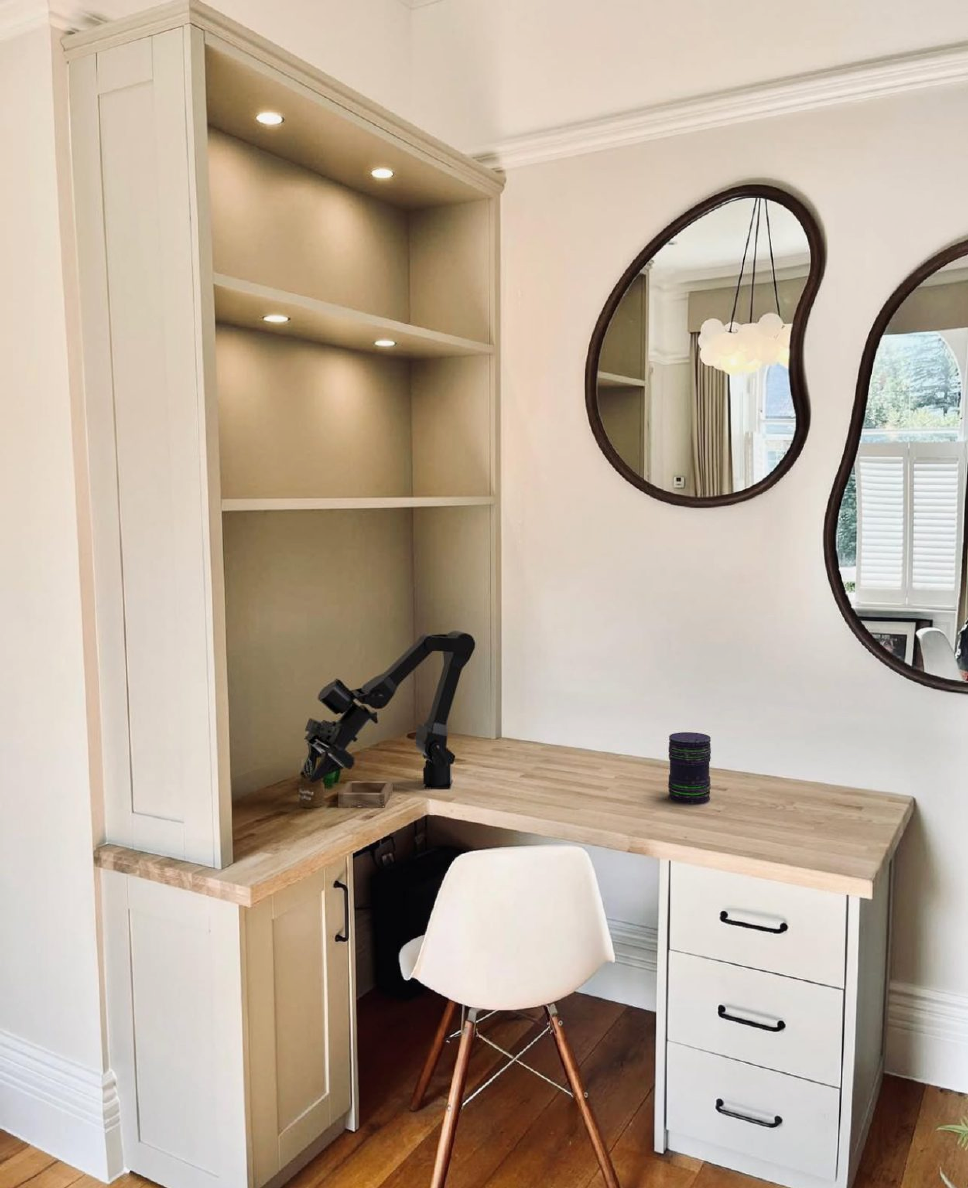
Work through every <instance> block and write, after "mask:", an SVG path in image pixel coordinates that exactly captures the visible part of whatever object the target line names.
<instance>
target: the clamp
mask: <svg viewBox="0 0 968 1188" xmlns="http://www.w3.org/2000/svg"><path fill="white" fill-rule="evenodd" d="M342 767H343V768H345V766H344V764H343V765H342ZM342 770H343V769H340V770H338V771H335V772H333V773H331V774H329V775H327V776H325V777H323V780H322V782H323V783H324V788H328V787H330V788H329V789H332V788H333V785H334V783H339V782H340V778H341V773H342ZM314 771H315V770H313V771H312V773H313V772H314ZM310 773H311V772H310Z"/></svg>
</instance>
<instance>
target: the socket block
mask: <svg viewBox="0 0 968 1188" xmlns="http://www.w3.org/2000/svg"><path fill="white" fill-rule="evenodd" d="M337 794H338V795H337V802H338V805H337V806H338V808H352V807H358V806H361V807H383V806H384V807H385V806H386V807H387V805H388V803H389V801H390V800H391V798H390V796H391V795H392V796H393V781H389V780H387V781H381V780H380V781H379V780H378V781H376V780H374V781H373V780H372V781H371V780H370V781H369V780H367V781H365V780H356V781H355V780H348V781H346V783H345V784H344V786H343V787H342V788H341V790H340V791H339V792H338V793H337ZM392 796H391V797H392ZM388 800H389V801H388ZM386 804H387V805H386ZM349 806H350V807H349ZM386 807H385V808H386Z"/></svg>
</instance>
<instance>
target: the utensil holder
mask: <svg viewBox="0 0 968 1188" xmlns="http://www.w3.org/2000/svg"><path fill="white" fill-rule="evenodd" d="M306 759H309V758H307V757H304V758H303V759H302V761H304V760H305V762H306V761H307V760H306ZM318 759H319V762H318ZM321 760H322V757H321ZM305 762H302V766H304V764H305ZM309 763H310V762H309ZM319 763H320V758H317V763H316V768H317V766H318V765H319ZM311 764H312V763H311ZM311 764H310V765H311ZM306 767H308V766H306ZM304 770H305V769H304ZM310 771H311V769H310ZM305 773H306V772H305ZM307 773H308V772H307ZM312 774H313V773H312V772H311V773H308V774H304V775H302V776H301V775H300V780H299V781H300V783H299V788H298V793H299V796H298V799H299V805H300V807H302V808H304V807H305V809H315V808H320V807H322V806H323V805H325V801H326V800H325V798H326V797H325V793H326V792H325V786H324V783H323V782H322V780H323V778H321V779H319V780H317V781H315V782H313V783H312V782H311V781H310V780H309V779H310V777H311V776H312Z"/></svg>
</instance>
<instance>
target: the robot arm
mask: <svg viewBox="0 0 968 1188" xmlns="http://www.w3.org/2000/svg"><path fill="white" fill-rule="evenodd" d="M475 649H476V641H475V639H474V637H473V636H472V635H471V634H470V633H467V632H464V631H460V630H452V631H449V632H447V633H434V634H429V633H424V634H422V635H420V636H419V638H418V640H416V641H415V642H414V643H413V644H412V646H410V647H409V648H408V649H407V650H406V651H405V652H404V653H403V654H402V655H401V656H400V657H399V658H398V659H397V660H396V661H394V663H393V664H392V665H391V666H390V667H389V668H388V669H387V670H385V671H384V672H383V673H381V674H379V675H377V676H374V677H373V678H371V679H370V680H369V681H367V682H366V683H365V684H363V685H362V686H361V687H360V688H359V687H358V688H355V689H351V690H350V688H349V687H347V686H346V684H345V683H344V682H343V681H342V680H340V679H339V678H335V679H334V680H333V681H331V682H330V683H329V684H327V685H326V686H324V687H323V688H322V689H321V690H320V692H319V693H318V696H317V700H318V701H319V702H320V703H321V704H323V706H324V707H325V708H327V709H328V710H329V711H330V712H331V713H333V714H334V715H338V714H341V717H339V719H337V721H336V720H331V721H328V720H325V719H323V720H321V721H319V720H317V719H314V718H308V721H307V724H306V726H305V728H304V731H305V732H308V733H307V734H306V736H305V737H304V740H305V741H306V742H307V748H308V754H307V756H306V760H307V761H306V760H305V762H304V765H302V768H301V771H300V774H299V775H300V777H301V776H302V775H304V774H308V773H310V772H312V771H313V770H315V771H314V772H313V774H312V776H311V777H310V779H309V780H310V781H311V782H312V783H313V782H315V781H317V780H319V779H321V778H323V777H325V776H327V775H329V774H331V773H333V772H335V771H338V770H340V769H342V770H343V769H344V768H346V769H348V770H351V769H352V768H353V767H354V765H355V763H356V759H355V757H354V756H353V755H352V754H351V753H350V752H348V750H347V749H348V747H349V746H350V744H351V743H352V742H354V743H356V742H357V741H358V737H357V736H358V735H359V734H360V732H362V731H361V730H362V729H363V728H364V727H365V726H366V725H367V723H368V722H371V723H373V724H375V725H377V724H378V723H379V720H378V712H377V711H374V710H373V711H371V710H370V709H368V708H367V707H366V705H367V706H368V707H370V708H372V709H375V710H382V709H384V708H385V707H387V705H388V704H389V703H390V701H391V700H392V699H393V697H394V696H395V694H396V692H397V689H398V687H399V686H400V684H402V682H403V681H404V680H405V679H406V678H407V677H408V676H409V675H410V674H411V673H413V672H414V670H415V669H416V668H417V667H418V666H419V665H421V663H422V662H423V661H424V660H425V659H427V657H428V656H429V655H431V653H433V652H442V655H443V656H442V658H443V667H442V671H441V674H440V677H439V681H438V683H437V688H436V690H435V691H436V692H435V695H434V699H433V702H432V705H431V709H430V713H429V716H428V718H427V719H426V722H425V723H424V724H422V723H418V725H417V731H416V733H415V736H414V737H413V739H414V740H415V742H414V744H415V747H416V749H417V751H418V752H419V753H420V754H421V755H422V757H423V759H425V760H426V761H425V765H424V766H423V767H422V768H423V769H422V775H423V776H422V777H423V781H422V782H423V784H424V789H451V787H452V786H453V783H454V780H453V776H452V771H453V769H452V765H453V764H454V763H455V760H456V755H455V753H453V752H452V751H451V750H450V749H448V747H447V745H448V744H447V743H448V730H447V729H448V728H447V724H448V720H449V717H450V713H451V709H452V706H453V702H454V698H455V695H456V691H457V688H458V684H459V681H460V678H461V675H462V671H463V668H464V667H466V665H467V663H469V661H470V659H471V657H472V655H473V653H474V651H475ZM355 701H356V702H358V703H360V704H361V705H359V704H358V703H356V702H355ZM321 757H322V760H321ZM307 758H309V759H307ZM317 758H320V763H319V765H318V766H317V768H316V763H317ZM309 762H310V763H309ZM318 762H319V759H318ZM311 763H312V764H311ZM310 764H311V765H310ZM343 764H344V767H342V765H343ZM306 766H308V767H306ZM304 769H305V770H304ZM310 769H311V771H310ZM305 772H306V773H305ZM307 772H308V773H307Z"/></svg>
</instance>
